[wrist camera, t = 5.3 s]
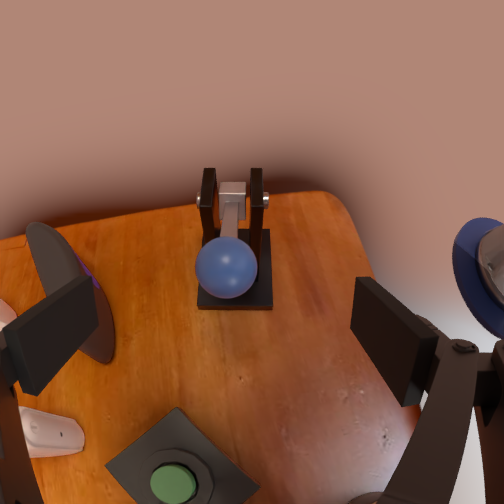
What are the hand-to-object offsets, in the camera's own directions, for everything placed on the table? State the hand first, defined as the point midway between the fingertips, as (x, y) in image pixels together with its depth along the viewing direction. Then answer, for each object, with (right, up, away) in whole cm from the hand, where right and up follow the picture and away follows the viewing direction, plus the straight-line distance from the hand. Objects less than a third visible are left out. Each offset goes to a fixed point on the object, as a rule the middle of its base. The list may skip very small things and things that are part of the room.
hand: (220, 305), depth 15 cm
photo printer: (-21, -18, +10) cm, 29 cm away
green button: (-5, -17, +7) cm, 19 cm away
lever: (0, +3, +9) cm, 9 cm away
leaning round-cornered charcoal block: (-19, -4, +19) cm, 27 cm away
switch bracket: (0, 0, +22) cm, 22 cm away
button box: (-5, -19, +10) cm, 22 cm away
